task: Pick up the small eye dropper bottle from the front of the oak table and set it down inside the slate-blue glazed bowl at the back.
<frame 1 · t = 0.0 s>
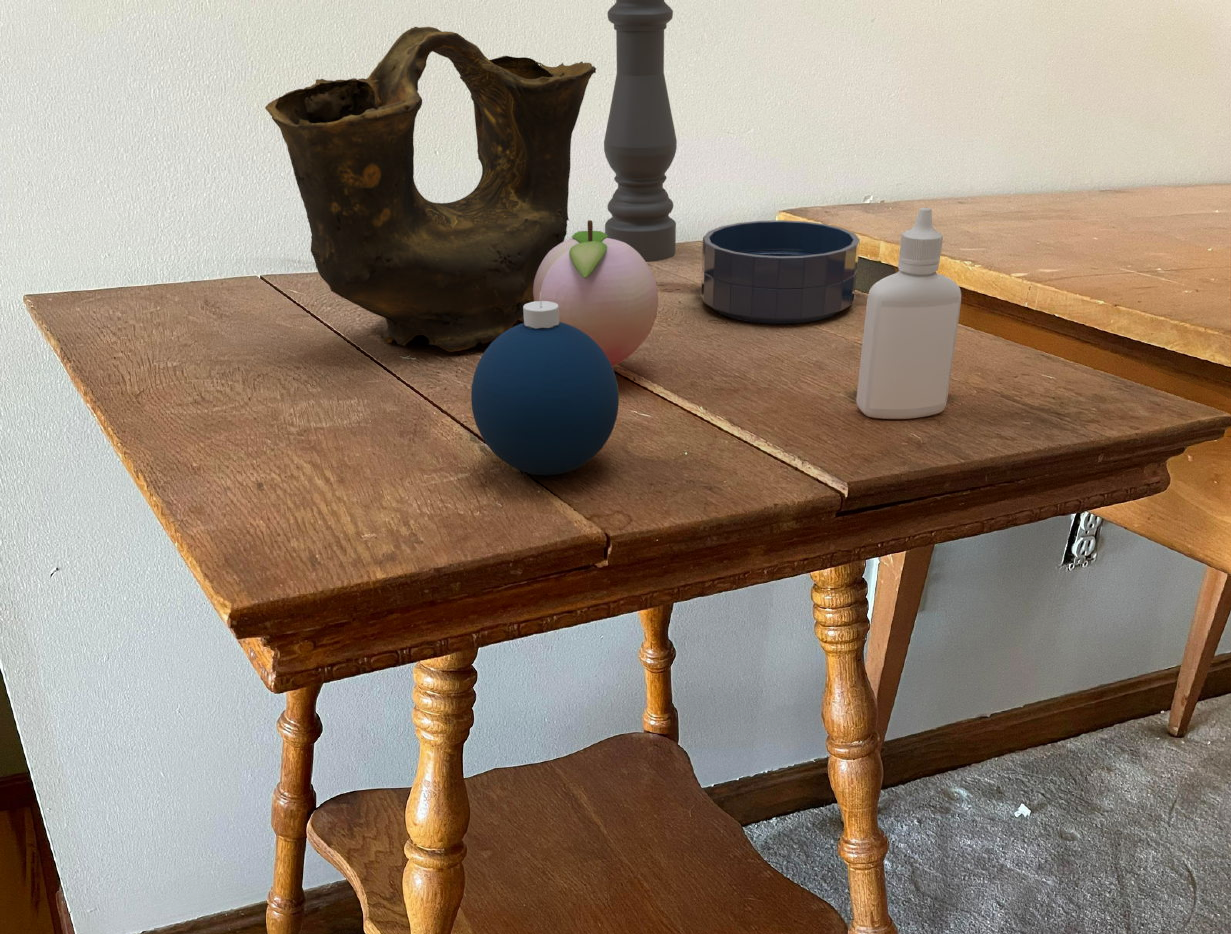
pottery vessel: (461, 335, 96), on the table
decorative fruit: (598, 378, 88), on the table
candle holder: (640, 265, 112), on the table
bowl: (776, 305, 101), on the table
eye dropper bottle: (899, 413, 82), on the table
christmas ornament: (548, 473, 75), on the table
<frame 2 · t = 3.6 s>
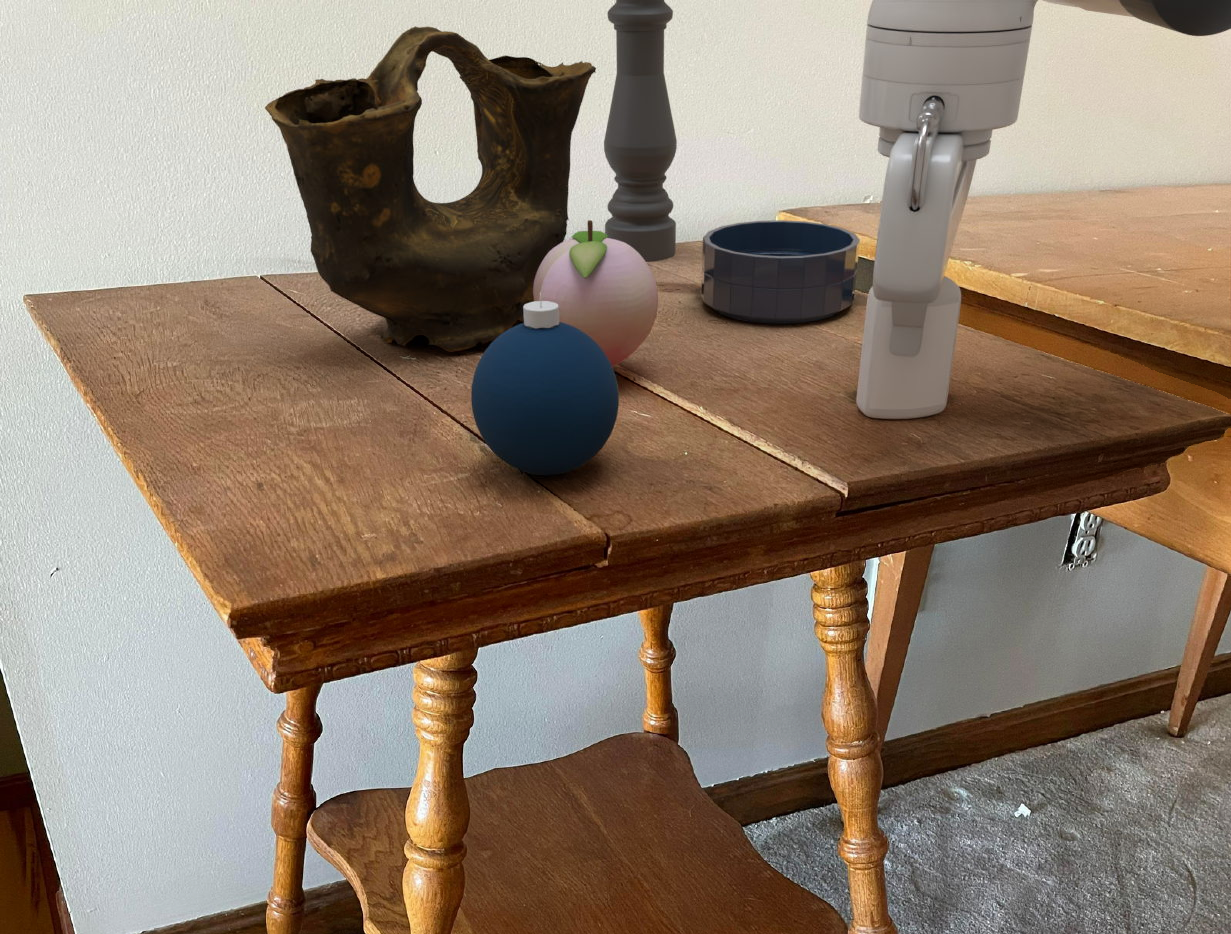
hand: (909, 339, 79), 5 cm above the table, tool pointing down, fingers closed on eye dropper bottle, 4 cm apart
eye dropper bottle: (899, 413, 82), on the table, touching gripper
everything else where it was.
when the fingers open (5 cm above the table, at t = 11.3 s): eye dropper bottle stays where it is, resting on bowl.
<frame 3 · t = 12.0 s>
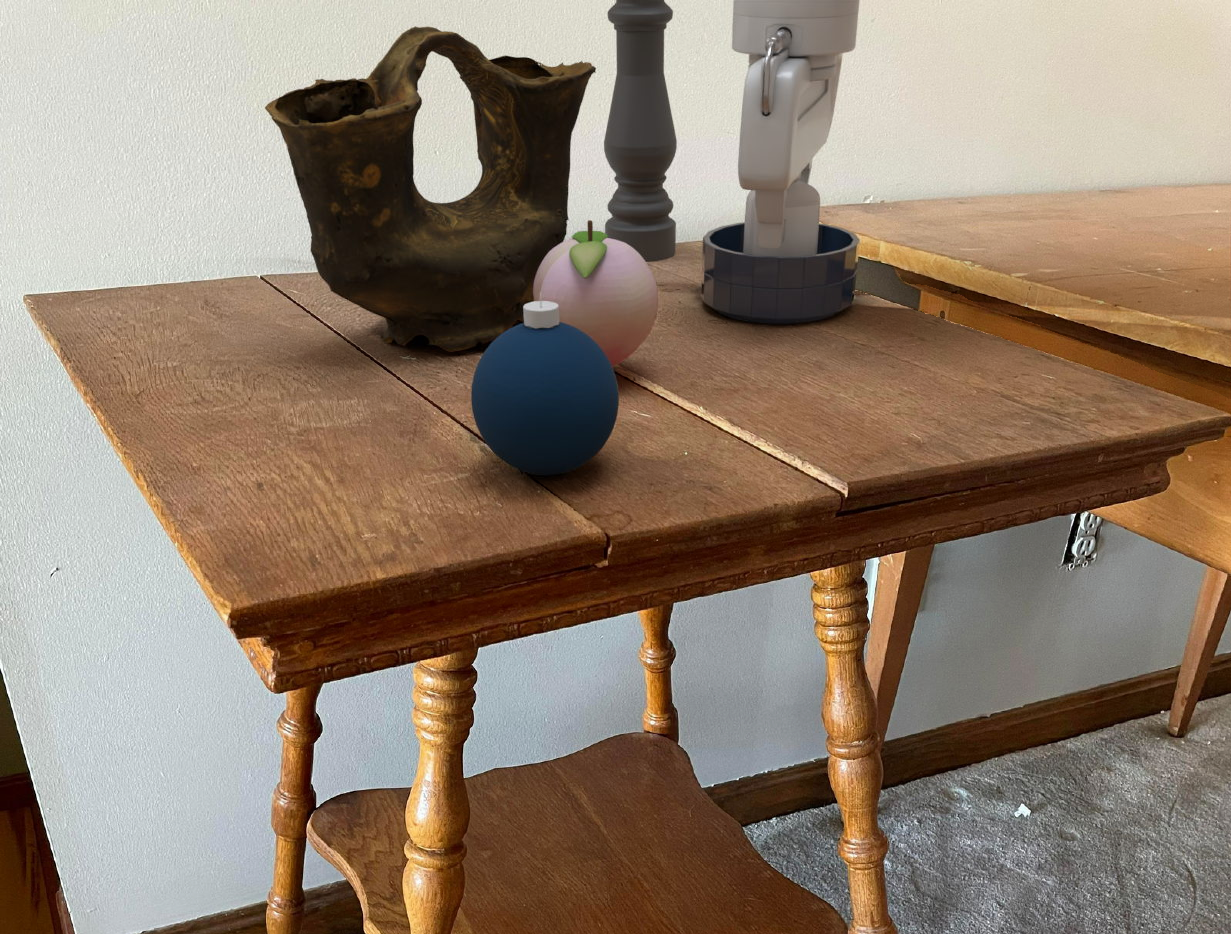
hand: (781, 231, 98), 5 cm above the table, tool pointing down, fingers open, 8 cm apart
eye dropper bottle: (776, 299, 101), resting on bowl
everything else where it was.
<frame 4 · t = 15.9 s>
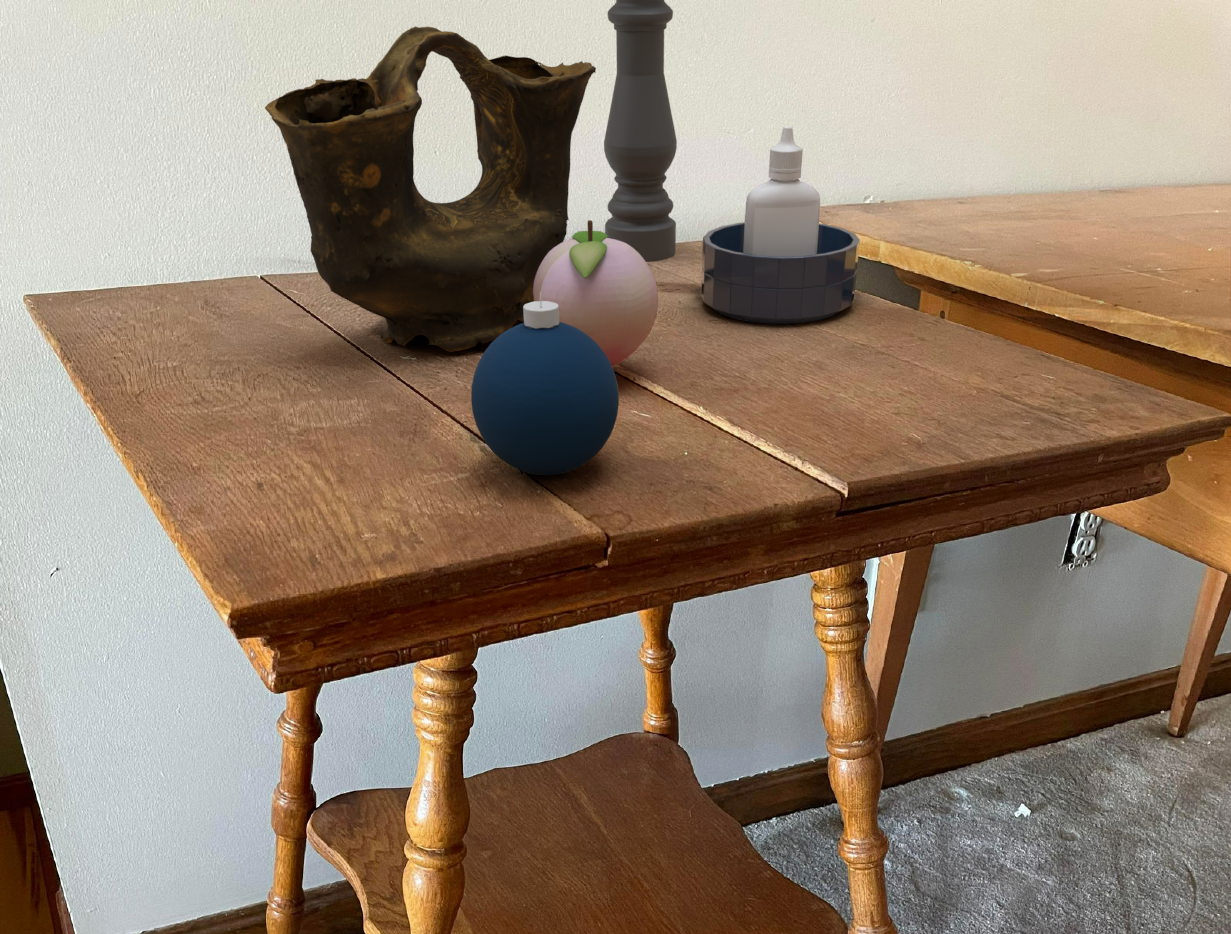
nothing on the table moved.
at the end: eye dropper bottle inside the target area in the bowl (0.0 cm from its centre), point 0.4 cm above the bowl's base; the gripper is holding nothing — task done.
